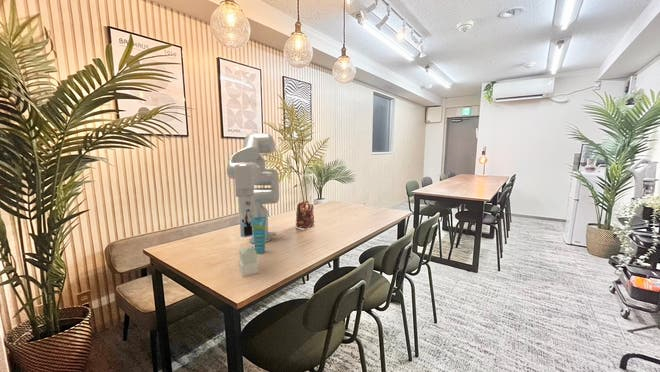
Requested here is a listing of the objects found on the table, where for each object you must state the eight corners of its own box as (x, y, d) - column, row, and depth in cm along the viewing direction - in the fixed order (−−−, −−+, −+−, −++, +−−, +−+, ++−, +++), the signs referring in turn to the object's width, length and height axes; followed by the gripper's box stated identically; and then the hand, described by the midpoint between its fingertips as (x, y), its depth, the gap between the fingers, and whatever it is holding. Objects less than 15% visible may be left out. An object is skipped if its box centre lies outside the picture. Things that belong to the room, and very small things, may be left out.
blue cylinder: (251, 232, 122) (250, 219, 121) (254, 235, 117) (253, 222, 117) (239, 234, 120) (238, 221, 119) (241, 237, 115) (241, 224, 114)
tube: (252, 254, 140) (250, 218, 137) (253, 251, 145) (251, 216, 142) (267, 253, 142) (265, 217, 139) (267, 249, 146) (265, 215, 144)
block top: (253, 257, 124) (253, 246, 123) (256, 262, 119) (256, 251, 118) (240, 260, 121) (239, 249, 121) (242, 264, 116) (242, 253, 115)
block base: (254, 266, 126) (254, 256, 125) (258, 272, 119) (258, 262, 119) (239, 270, 122) (238, 259, 121) (242, 276, 116) (241, 265, 115)
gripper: (258, 194, 110) (260, 237, 113) (249, 189, 125) (251, 227, 128) (239, 196, 107) (241, 240, 109) (232, 190, 122) (234, 229, 124)
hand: (246, 232), depth 118 cm, fingers closed on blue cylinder, 5 cm apart
